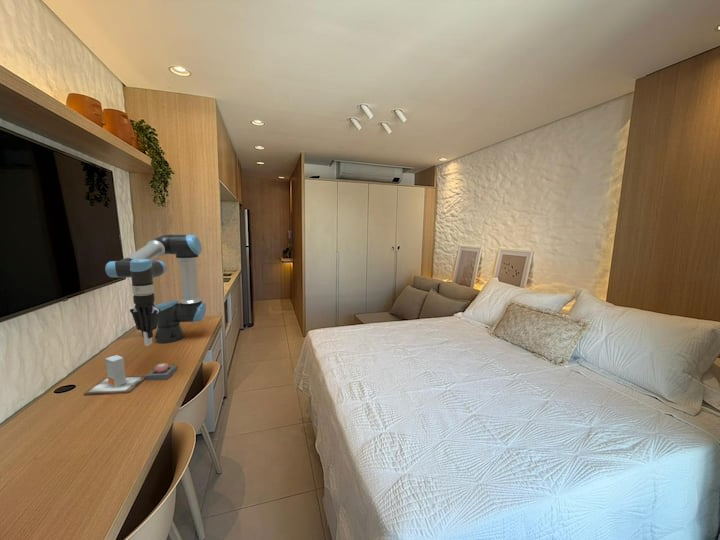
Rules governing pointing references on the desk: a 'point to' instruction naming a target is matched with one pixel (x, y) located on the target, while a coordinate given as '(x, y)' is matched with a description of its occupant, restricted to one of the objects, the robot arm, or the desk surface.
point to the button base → (161, 374)
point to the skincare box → (115, 370)
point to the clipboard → (109, 389)
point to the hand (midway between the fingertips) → (148, 344)
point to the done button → (161, 368)
